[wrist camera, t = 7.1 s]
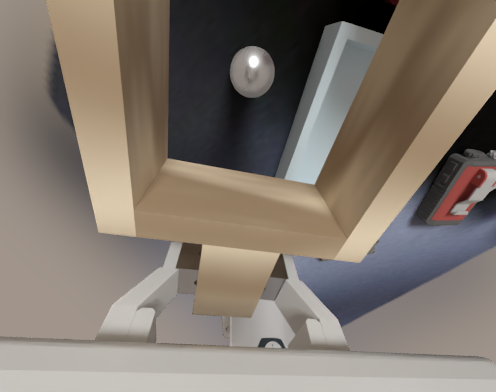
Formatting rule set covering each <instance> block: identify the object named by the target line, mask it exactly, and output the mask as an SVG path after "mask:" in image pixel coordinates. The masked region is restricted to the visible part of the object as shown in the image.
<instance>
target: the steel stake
mask: <svg viewBox="0 0 496 392" xmlns="http://www.w3.org/2000/svg"><path fill="white" fill-rule="evenodd" d="M230 78H231V82H232V84H233V86H234V88H235V89H236V90H237V92H239V93H240V94H241V95H243V96H245V97H249V98H255V97H259V96H261V95H263V94H264V93H265V92H266V91H267V90H268V89H269V88H270V86H271V85H272V82H273V79H274V64H273V61H272V59H271V57H270V55H269V54H268V53H267V52H266V51H265V50H263V49H262V48H259V47H256V46H249V47H246V48H243V49H241V50H239V51H238V52H237V53H236V54H235V55H234V57H233V60H232V63H231V67H230Z"/></svg>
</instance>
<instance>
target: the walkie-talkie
mask: <svg viewBox="0 0 496 392" xmlns="http://www.w3.org/2000/svg"><path fill="white" fill-rule="evenodd" d="M463 153H464V154H452V155H451V156H449V158H448V160H447V161H446V163H445V165H444V166H443V168H442V170H441V171H440V173H439V175H438V176H437V178H436V179H435V181H434V184H433V185H432V187H431V188H430V190H429V192H428V193H427V195H426V196H425V198H424V199H423V201H422V203H421V204H420V207H418V209H417V212H416V214H417V215H418V216H419V217H420V218H421V219H422V220H423V221H424V222H425V223H427V224H428V225H431V226H440V225H457V224H459V223H460V222H461V221H463V219H464V218H465V217H466V216H467V215H468V213H469V212H470V211H471V209H472V208H473V207H474V205H475V204H476V203H477V202H479V201H482V200H483V199H484V198H485V196H486V195H487V194H488V193H489V192H490V191H492V190H493V189H495V188H496V151H493V150H490V152H489V153H487V154H484V153H483V152H481V151H477V150H473V149H466V150H464V152H463Z"/></svg>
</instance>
